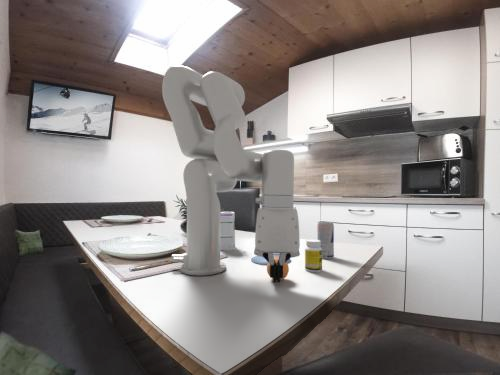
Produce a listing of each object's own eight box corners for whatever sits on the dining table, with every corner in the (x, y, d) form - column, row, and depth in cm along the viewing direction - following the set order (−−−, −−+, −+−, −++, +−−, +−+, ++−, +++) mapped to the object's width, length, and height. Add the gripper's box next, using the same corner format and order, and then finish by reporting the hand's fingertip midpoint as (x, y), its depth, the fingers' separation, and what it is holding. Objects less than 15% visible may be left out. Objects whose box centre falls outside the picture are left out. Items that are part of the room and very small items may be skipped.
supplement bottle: (322, 273, 71) (322, 242, 71) (305, 272, 72) (305, 241, 72) (321, 268, 76) (321, 239, 76) (304, 267, 77) (304, 238, 77)
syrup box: (234, 250, 99) (234, 212, 100) (218, 250, 99) (218, 212, 100) (235, 247, 105) (235, 211, 105) (220, 247, 105) (220, 211, 105)
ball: (267, 255, 64) (268, 256, 69) (265, 279, 63) (266, 278, 68) (290, 258, 64) (288, 258, 69) (288, 282, 62) (287, 280, 67)
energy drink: (335, 256, 90) (335, 222, 90) (331, 260, 85) (331, 223, 85) (320, 254, 92) (320, 221, 93) (315, 257, 88) (315, 222, 88)
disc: (250, 265, 79) (250, 264, 79) (251, 255, 92) (251, 254, 92) (293, 265, 78) (293, 264, 78) (288, 255, 91) (288, 254, 91)
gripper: (244, 203, 58) (243, 285, 58) (312, 204, 57) (311, 287, 57) (246, 201, 66) (245, 274, 65) (306, 202, 65) (305, 276, 65)
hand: (276, 280), depth 61 cm, fingers closed
